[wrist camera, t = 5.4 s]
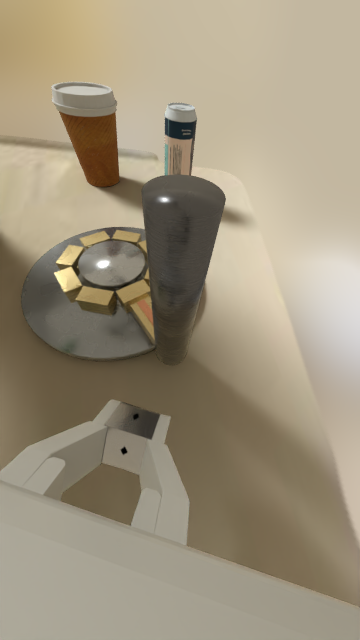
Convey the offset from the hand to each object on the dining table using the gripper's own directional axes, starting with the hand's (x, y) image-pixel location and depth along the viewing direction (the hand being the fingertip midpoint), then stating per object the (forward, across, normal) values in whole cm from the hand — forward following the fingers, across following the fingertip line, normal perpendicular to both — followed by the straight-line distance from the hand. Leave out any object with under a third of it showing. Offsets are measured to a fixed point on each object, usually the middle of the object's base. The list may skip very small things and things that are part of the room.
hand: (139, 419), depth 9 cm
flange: (+16, +9, -4) cm, 19 cm away
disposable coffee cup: (+34, +24, -22) cm, 47 cm away
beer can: (+33, +8, -21) cm, 40 cm away
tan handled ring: (+13, +6, -4) cm, 15 cm away
